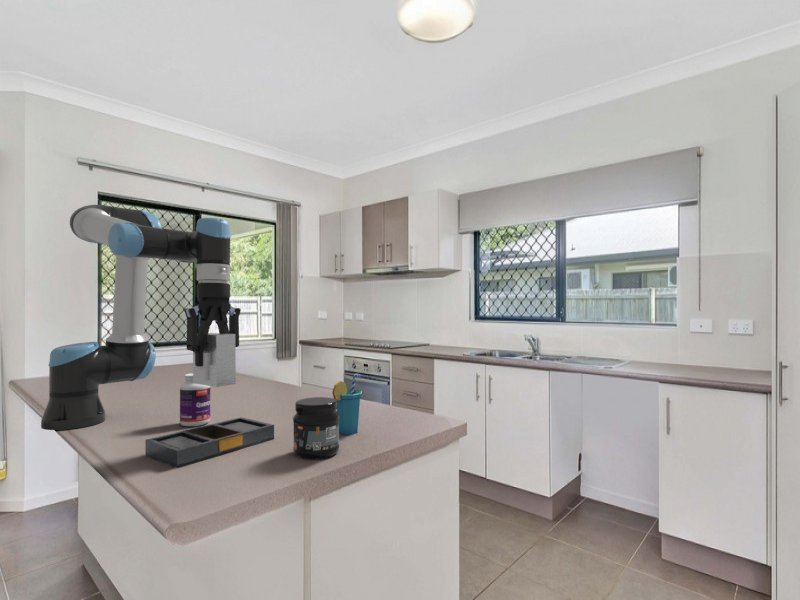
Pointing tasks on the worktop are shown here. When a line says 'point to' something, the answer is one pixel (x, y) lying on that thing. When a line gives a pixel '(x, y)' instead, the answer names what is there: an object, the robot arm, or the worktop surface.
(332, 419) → the supplement container
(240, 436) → the rack
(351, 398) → the cup
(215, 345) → the grey rectangular block
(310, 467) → the worktop surface
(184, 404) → the pill bottle
